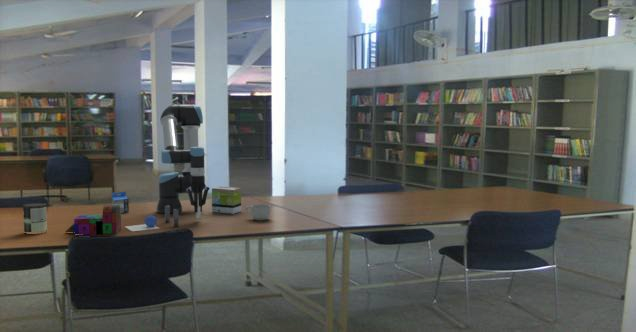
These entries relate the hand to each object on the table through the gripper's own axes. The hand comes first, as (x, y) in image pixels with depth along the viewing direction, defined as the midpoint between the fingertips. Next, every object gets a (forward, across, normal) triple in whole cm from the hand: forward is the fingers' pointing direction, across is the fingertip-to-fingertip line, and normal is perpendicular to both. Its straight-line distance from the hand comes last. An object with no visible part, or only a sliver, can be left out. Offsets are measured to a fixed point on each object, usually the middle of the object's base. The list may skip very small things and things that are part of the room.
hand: (198, 217), depth 303 cm
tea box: (+2, +26, +19) cm, 32 cm away
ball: (-1, -26, -1) cm, 27 cm away
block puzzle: (+2, -54, +4) cm, 54 cm away
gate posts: (+2, -15, 0) cm, 15 cm away
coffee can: (+2, -78, +17) cm, 80 cm away
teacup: (+2, +30, -13) cm, 33 cm away
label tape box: (+2, -28, +51) cm, 58 cm away
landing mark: (+2, -31, 0) cm, 31 cm away
